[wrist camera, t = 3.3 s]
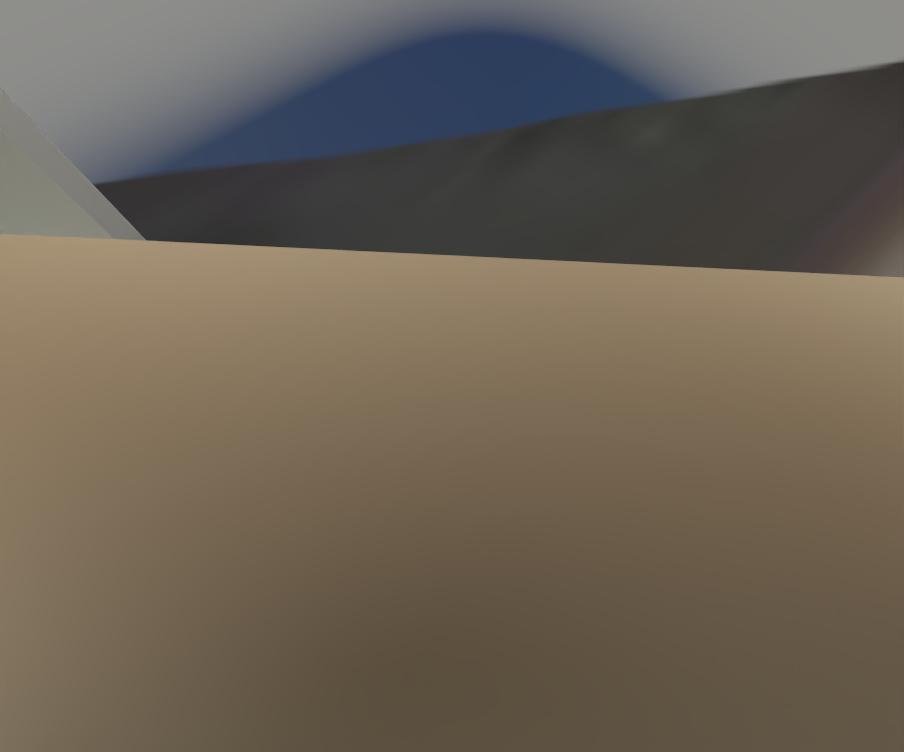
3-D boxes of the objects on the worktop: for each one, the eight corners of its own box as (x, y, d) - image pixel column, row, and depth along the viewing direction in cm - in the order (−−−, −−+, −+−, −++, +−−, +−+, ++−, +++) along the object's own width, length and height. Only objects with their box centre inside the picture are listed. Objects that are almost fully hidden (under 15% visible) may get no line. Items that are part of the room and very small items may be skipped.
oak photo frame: (596, 668, 13) (1541, 1335, 2) (341, 646, 14) (-414, 1081, 2) (593, 518, 15) (1112, 287, 3) (359, 501, 15) (-24, 231, 3)
